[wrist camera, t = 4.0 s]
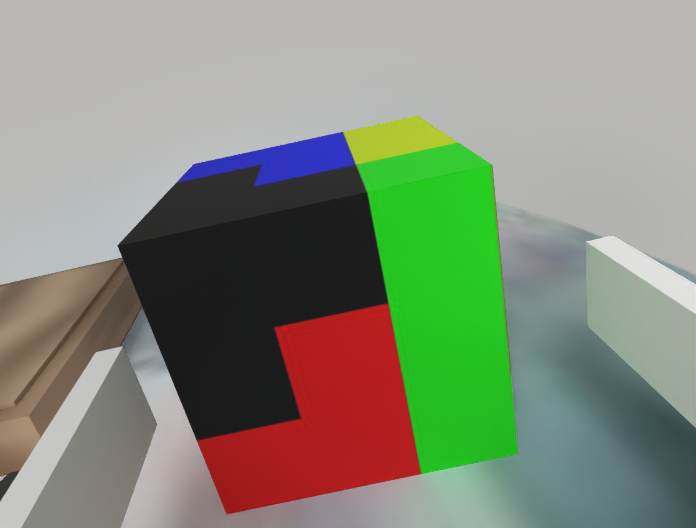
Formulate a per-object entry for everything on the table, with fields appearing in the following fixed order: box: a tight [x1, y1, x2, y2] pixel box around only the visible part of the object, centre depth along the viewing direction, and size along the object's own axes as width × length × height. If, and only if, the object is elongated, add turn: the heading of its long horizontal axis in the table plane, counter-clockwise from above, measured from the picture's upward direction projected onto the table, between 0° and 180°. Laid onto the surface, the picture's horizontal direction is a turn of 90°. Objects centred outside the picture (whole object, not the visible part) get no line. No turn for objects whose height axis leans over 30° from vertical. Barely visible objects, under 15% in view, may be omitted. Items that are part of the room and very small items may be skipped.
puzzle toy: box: [118, 116, 518, 514], centre depth 20 cm, size 10×10×10 cm
